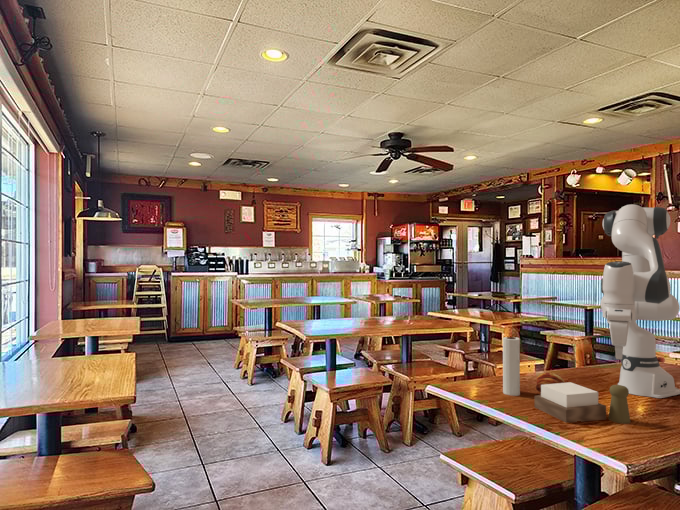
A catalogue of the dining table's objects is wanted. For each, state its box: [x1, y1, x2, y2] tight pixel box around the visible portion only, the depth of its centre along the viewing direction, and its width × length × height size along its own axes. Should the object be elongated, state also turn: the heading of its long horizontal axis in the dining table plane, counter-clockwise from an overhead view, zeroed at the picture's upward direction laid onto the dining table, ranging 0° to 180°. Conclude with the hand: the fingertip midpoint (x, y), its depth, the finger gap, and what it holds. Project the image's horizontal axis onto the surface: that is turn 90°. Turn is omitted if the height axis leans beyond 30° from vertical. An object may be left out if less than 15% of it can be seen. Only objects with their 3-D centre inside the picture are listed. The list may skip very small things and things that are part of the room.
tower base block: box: [534, 394, 607, 423], centre depth 152 cm, size 15×15×5 cm
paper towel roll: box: [502, 336, 521, 397], centre depth 174 cm, size 7×6×21 cm
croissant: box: [535, 372, 566, 393], centre depth 178 cm, size 21×10×8 cm
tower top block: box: [540, 381, 599, 408], centre depth 152 cm, size 12×12×4 cm
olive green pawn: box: [607, 384, 631, 425], centre depth 146 cm, size 6×6×11 cm
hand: (618, 356), depth 146 cm, fingers open, 8 cm apart
